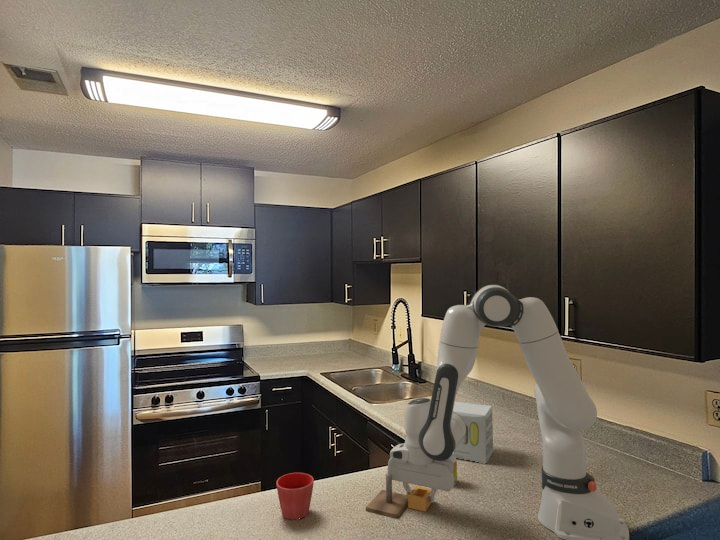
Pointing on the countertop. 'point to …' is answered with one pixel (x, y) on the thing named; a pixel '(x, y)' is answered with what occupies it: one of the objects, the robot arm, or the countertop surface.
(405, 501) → the peg mounting plate
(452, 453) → the supplement bottle
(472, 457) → the supplement box
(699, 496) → the countertop surface
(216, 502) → the countertop surface
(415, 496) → the orange hollow square block
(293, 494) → the flower pot
